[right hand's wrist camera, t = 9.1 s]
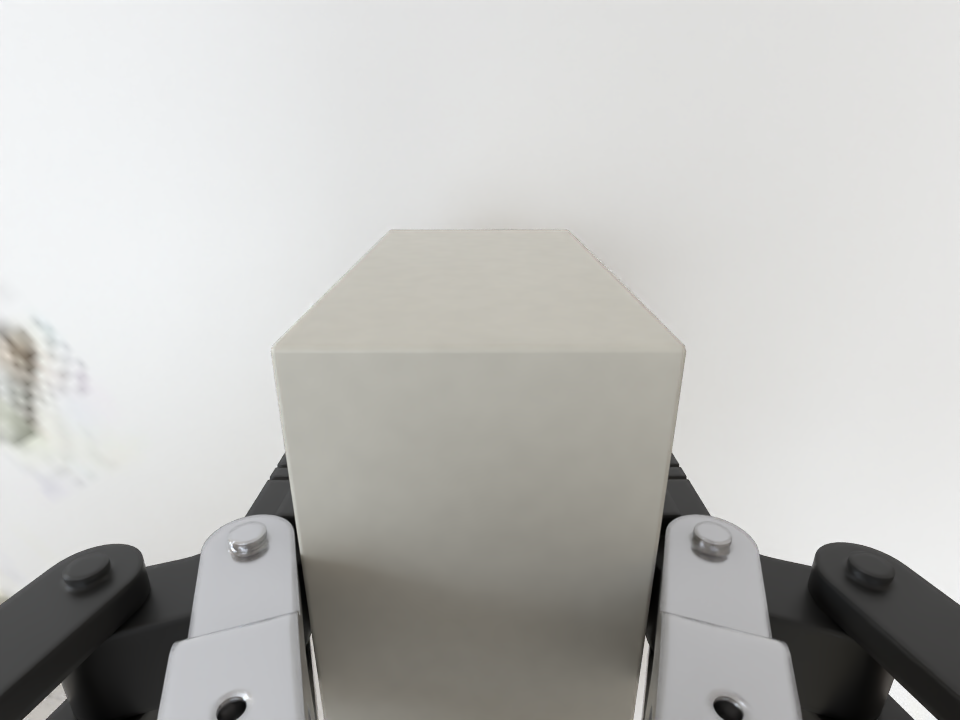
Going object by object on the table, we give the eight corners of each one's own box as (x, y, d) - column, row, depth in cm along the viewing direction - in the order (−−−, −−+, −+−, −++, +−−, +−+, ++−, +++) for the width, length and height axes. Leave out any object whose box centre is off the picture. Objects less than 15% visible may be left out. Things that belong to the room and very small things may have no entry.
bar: (388, 229, 15) (266, 346, 6) (569, 229, 15) (690, 346, 6) (421, 790, 23) (387, 1165, 15) (537, 790, 23) (570, 1165, 15)
